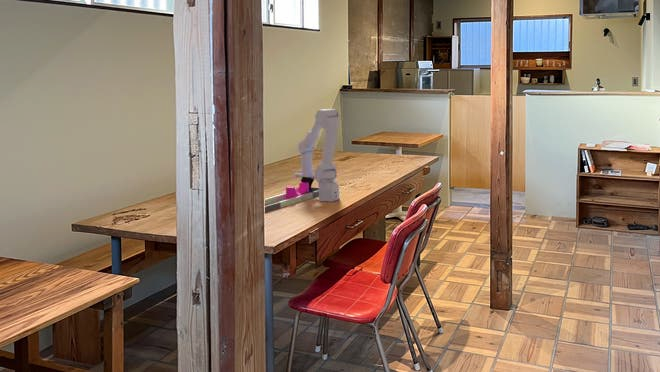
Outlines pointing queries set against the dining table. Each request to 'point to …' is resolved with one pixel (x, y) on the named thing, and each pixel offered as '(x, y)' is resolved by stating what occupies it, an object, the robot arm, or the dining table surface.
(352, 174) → the dining table surface
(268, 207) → the long grey tray strip
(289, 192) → the toy block
